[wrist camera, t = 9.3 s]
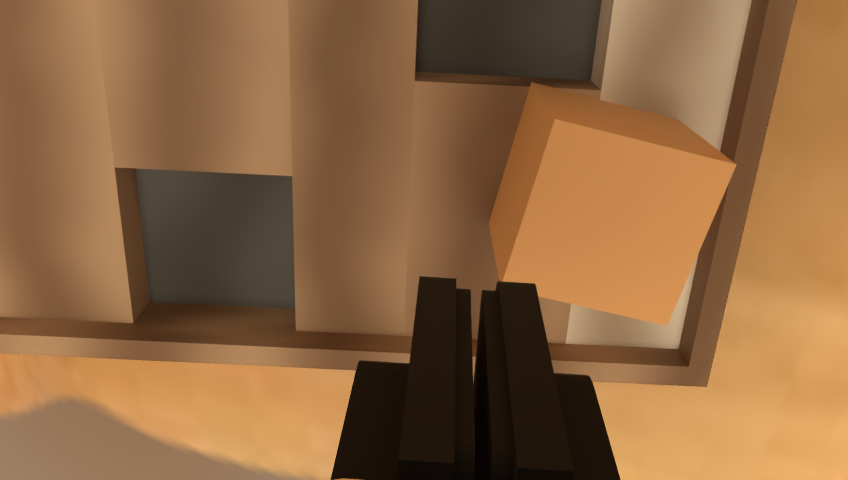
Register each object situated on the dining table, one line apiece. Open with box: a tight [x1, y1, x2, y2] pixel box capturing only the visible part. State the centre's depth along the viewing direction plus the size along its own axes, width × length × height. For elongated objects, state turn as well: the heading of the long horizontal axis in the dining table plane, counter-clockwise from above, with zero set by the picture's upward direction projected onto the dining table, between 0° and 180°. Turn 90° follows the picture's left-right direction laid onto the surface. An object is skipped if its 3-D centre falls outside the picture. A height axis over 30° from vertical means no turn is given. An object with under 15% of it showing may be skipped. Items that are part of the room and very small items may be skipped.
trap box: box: [0, 0, 797, 387], centre depth 25 cm, size 26×17×3 cm, turn 87°
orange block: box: [489, 82, 737, 326], centre depth 22 cm, size 5×5×5 cm
